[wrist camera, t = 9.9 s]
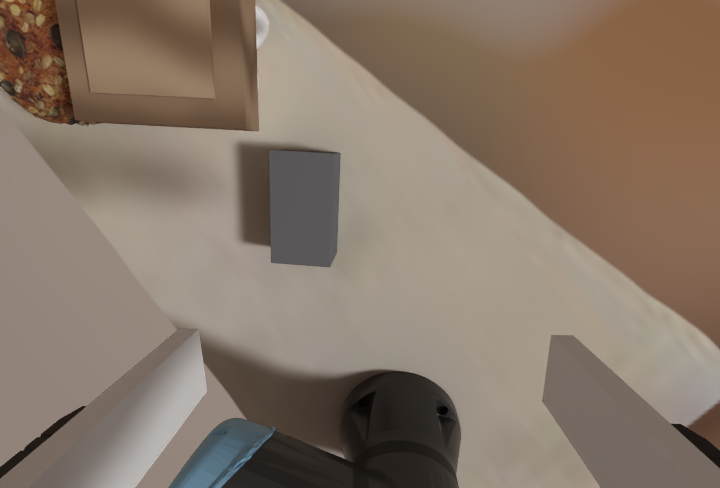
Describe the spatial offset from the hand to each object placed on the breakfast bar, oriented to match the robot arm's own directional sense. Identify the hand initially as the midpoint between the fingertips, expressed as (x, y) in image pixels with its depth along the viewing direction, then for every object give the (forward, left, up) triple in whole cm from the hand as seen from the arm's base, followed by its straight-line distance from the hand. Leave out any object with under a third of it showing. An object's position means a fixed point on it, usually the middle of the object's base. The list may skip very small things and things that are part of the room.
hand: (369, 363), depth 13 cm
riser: (+2, +8, -26) cm, 27 cm away
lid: (+15, +16, -16) cm, 26 cm away
